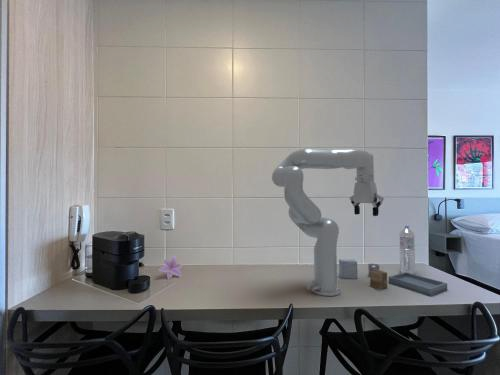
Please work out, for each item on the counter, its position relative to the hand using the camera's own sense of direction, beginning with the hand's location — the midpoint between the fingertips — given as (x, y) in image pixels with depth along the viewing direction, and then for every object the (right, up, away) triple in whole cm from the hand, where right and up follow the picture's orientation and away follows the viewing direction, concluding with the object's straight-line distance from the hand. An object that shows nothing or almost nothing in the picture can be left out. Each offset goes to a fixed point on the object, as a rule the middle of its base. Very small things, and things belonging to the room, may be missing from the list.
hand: (366, 215), depth 122 cm
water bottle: (+28, -33, +14) cm, 45 cm away
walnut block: (+3, -32, -6) cm, 33 cm away
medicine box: (-6, -33, +7) cm, 34 cm away
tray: (+21, -32, -6) cm, 39 cm away
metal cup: (+7, -32, +8) cm, 34 cm away
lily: (-96, -33, +9) cm, 102 cm away
